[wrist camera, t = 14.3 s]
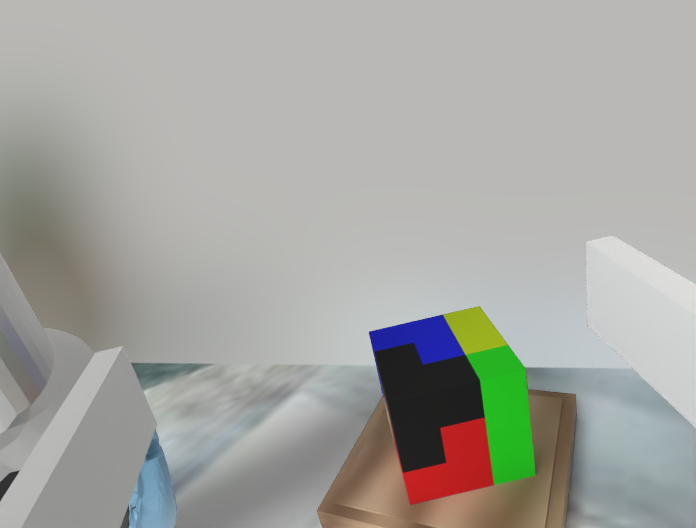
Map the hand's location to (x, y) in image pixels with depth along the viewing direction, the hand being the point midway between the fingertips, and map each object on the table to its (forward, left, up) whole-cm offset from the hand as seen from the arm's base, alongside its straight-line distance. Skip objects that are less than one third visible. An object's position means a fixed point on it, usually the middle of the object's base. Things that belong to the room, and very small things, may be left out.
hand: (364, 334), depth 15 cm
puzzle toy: (-7, +22, -26) cm, 35 cm away
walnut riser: (-6, +22, -28) cm, 36 cm away
